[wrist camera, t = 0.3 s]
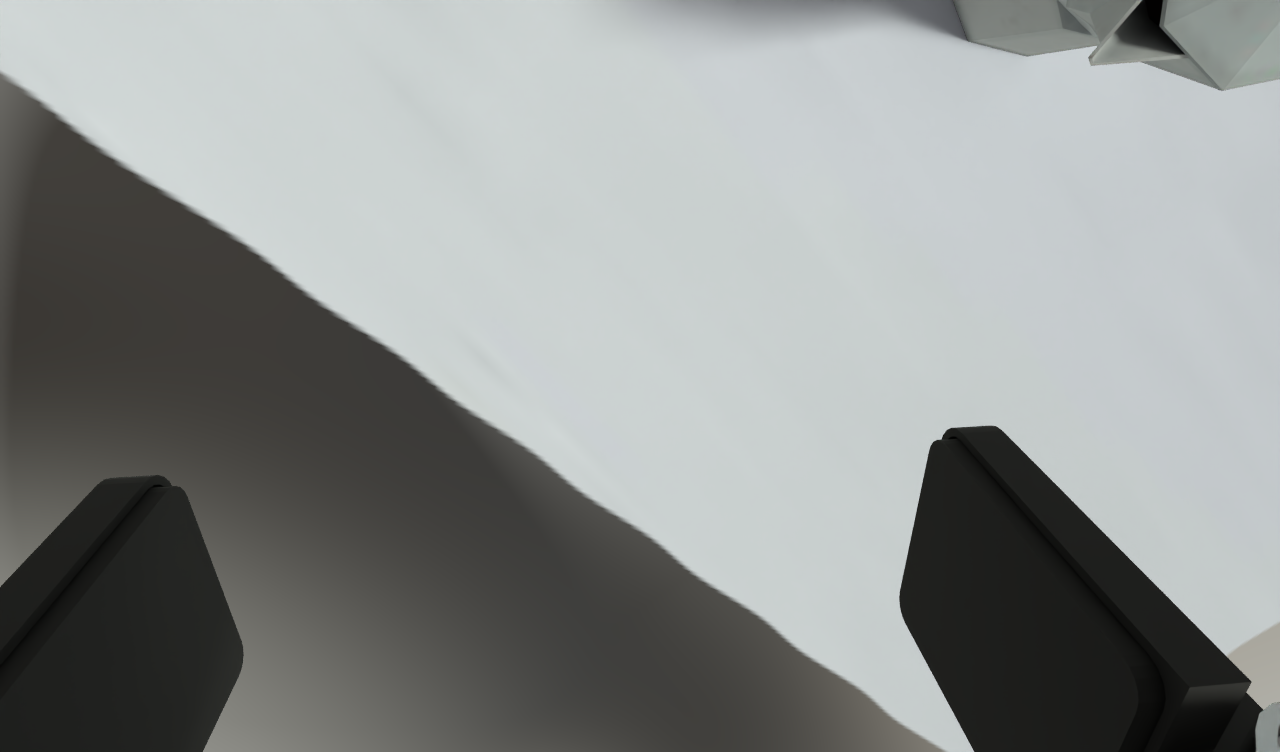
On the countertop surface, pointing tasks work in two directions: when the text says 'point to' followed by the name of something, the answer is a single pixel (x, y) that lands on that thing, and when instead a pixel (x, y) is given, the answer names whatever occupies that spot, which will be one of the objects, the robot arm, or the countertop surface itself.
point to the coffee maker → (1140, 34)
